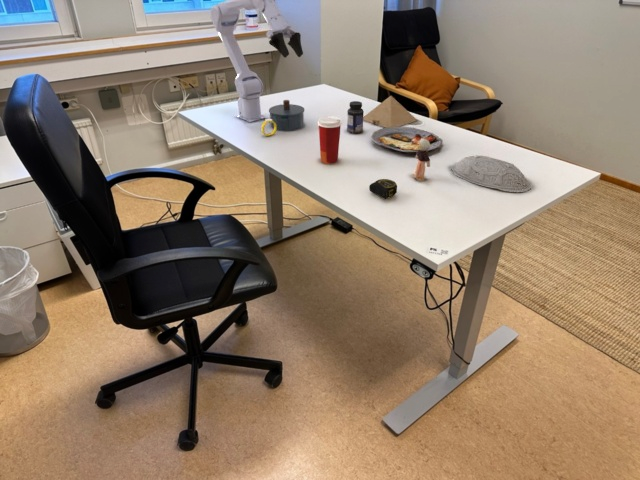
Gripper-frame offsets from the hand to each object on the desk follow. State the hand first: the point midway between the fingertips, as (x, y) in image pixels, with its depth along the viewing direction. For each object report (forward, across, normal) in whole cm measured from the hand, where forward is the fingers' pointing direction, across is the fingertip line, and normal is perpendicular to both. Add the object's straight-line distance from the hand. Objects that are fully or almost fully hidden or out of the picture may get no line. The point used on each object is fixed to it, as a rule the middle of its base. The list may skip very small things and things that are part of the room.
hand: (294, 55), depth 155 cm
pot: (+14, +9, +25) cm, 30 cm away
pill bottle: (+30, +20, +5) cm, 37 cm away
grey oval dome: (+68, +10, -36) cm, 78 cm away
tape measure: (+58, -20, -18) cm, 64 cm away
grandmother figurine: (+58, -4, -22) cm, 63 cm away
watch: (+17, -3, +25) cm, 30 cm away
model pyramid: (+31, +39, +1) cm, 50 cm away
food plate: (+45, +20, -11) cm, 50 cm away
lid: (+10, +9, +21) cm, 25 cm away
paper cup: (+39, -9, +1) cm, 40 cm away
